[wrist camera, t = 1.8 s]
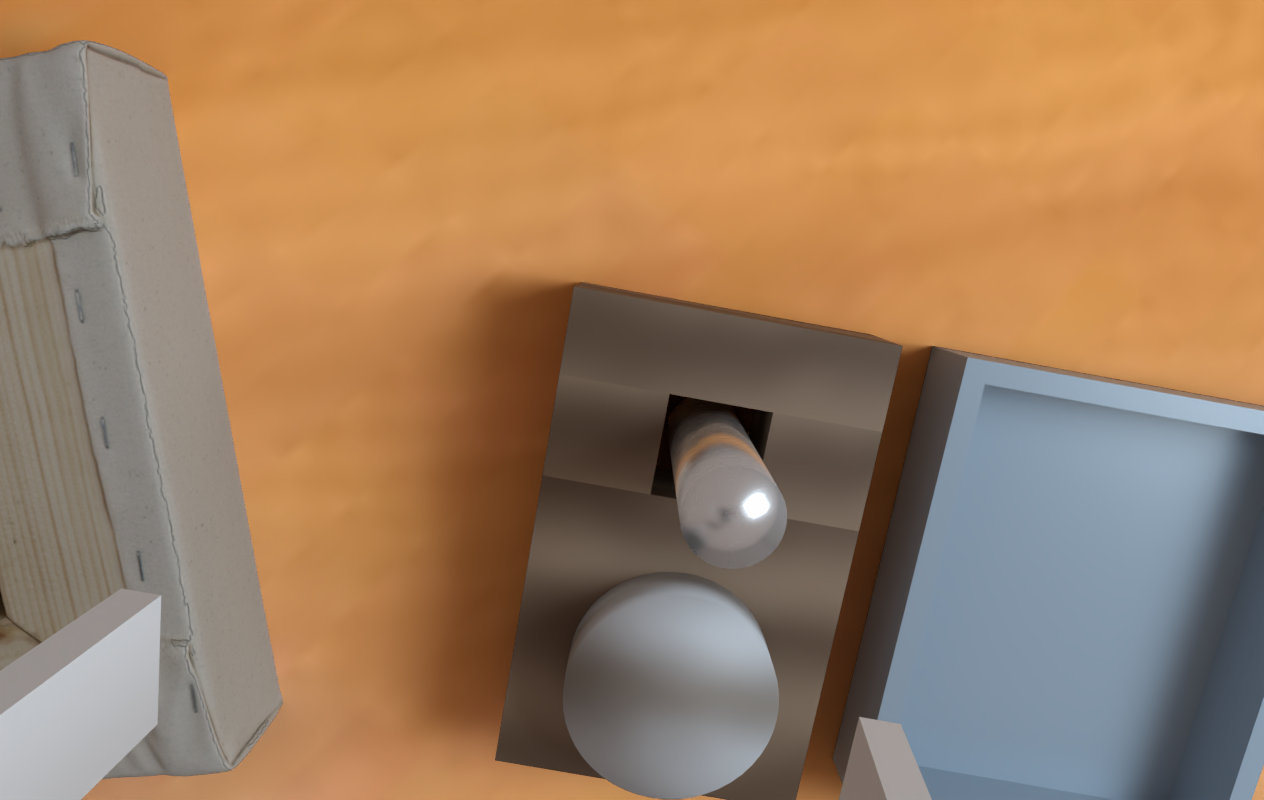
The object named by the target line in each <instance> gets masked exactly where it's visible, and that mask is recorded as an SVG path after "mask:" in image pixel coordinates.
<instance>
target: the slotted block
mask: <svg viewBox="0 0 1264 800" xmlns="http://www.w3.org/2000/svg"><path fill="white" fill-rule="evenodd" d="M121 588H122V589H128V590H134V591H139V592H145V593H151V594H157V595H161V621H160V656H159V692H158V724H157V725H156V726H155V727H154V728H153V729H152V730H151V731H150V732H149V733H148V734H147V735H146V736H145V737H144V738H143V739H142V740H141V741H140V742H139V743H138V744H137V745H136V746H135V747H134V748H133V749H132V750H131V751H130V752H129V753H128V754H127V755H126V756H125V757H124V758H123V759H122V760H121V761H120V762H119V763H118V764H117V765H116V766H115V767H113V768H112V769H111V770H110V771H109V772H108V773H107V774H106V775H105V776H104V777H103V778H102V779H108V778H121V777H141V776H155V775H170V776H194V775H204V774H212V773H220V772H227V771H230V770H232V769H234V768H235V767H236V766H237V765H238V764H239V763H240V762H241V761H242V760H243V759H244V758H245V757H246V755H247V754H248V753H249V752H250V750H251V749H252V748H253V746H254V745H255V744H256V743H257V741H258V740H259V739H260V737H261V736H262V735H263V734H264V732H265V731H266V729H267V728H268V726H269V725H270V724H271V722H272V721H273V719H274V718H275V716H276V715H277V713H278V711H279V709H280V707H281V705H282V703H283V701H282V695H281V692H280V688H279V683H278V678H277V673H276V668H275V663H274V657H273V652H272V647H271V642H270V637H269V632H268V626H267V621H266V616H265V611H264V606H263V600H262V595H261V590H260V584H259V579H258V574H257V568H256V562H255V557H254V551H253V546H252V541H251V535H250V530H249V525H248V519H247V513H246V508H245V502H244V497H243V492H242V487H241V481H240V476H239V470H238V465H237V459H236V454H235V449H234V443H233V438H232V432H231V427H230V421H229V416H228V411H227V405H226V400H225V395H224V389H223V383H222V378H221V373H220V367H219V361H218V356H217V350H216V345H215V340H214V335H213V330H212V324H211V319H210V313H209V308H208V303H207V298H206V292H205V287H204V281H203V276H202V270H201V264H200V259H199V253H198V248H197V242H196V237H195V231H194V225H193V220H192V214H191V209H190V203H189V198H188V193H187V188H186V182H185V177H184V171H183V166H182V160H181V155H180V149H179V144H178V138H177V133H176V127H175V121H174V116H173V110H172V105H171V99H170V93H169V86H168V79H167V76H166V75H164V74H163V73H162V72H160V71H159V70H157V69H155V68H154V67H152V66H150V65H148V64H146V63H144V62H143V61H141V60H139V59H137V58H135V57H133V56H131V55H129V54H127V53H125V52H123V51H120V50H118V49H115V48H113V47H110V46H107V45H103V44H99V43H96V42H92V41H85V40H82V41H72V42H69V43H64V44H61V45H58V46H57V47H55V48H53V49H52V50H48V51H43V52H32V53H27V54H23V55H20V56H16V57H9V58H0V671H1V670H2V669H3V668H5V667H6V666H8V665H9V664H11V663H12V662H14V661H15V660H17V659H18V658H20V657H21V656H23V655H24V654H26V653H27V652H28V651H30V650H31V649H33V648H34V647H36V646H37V645H39V644H40V643H42V642H43V641H45V640H46V639H48V638H49V637H51V636H52V635H54V634H55V633H56V632H58V631H59V630H61V629H62V628H64V627H65V626H67V625H68V624H70V623H71V622H73V621H74V620H76V619H77V618H79V617H80V616H81V615H83V614H84V613H86V612H87V611H89V610H90V609H92V608H93V607H95V606H96V605H98V604H99V603H101V602H102V601H104V600H105V599H107V598H108V597H109V596H111V595H112V594H114V593H115V592H117V591H118V590H120V589H121Z"/></svg>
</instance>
